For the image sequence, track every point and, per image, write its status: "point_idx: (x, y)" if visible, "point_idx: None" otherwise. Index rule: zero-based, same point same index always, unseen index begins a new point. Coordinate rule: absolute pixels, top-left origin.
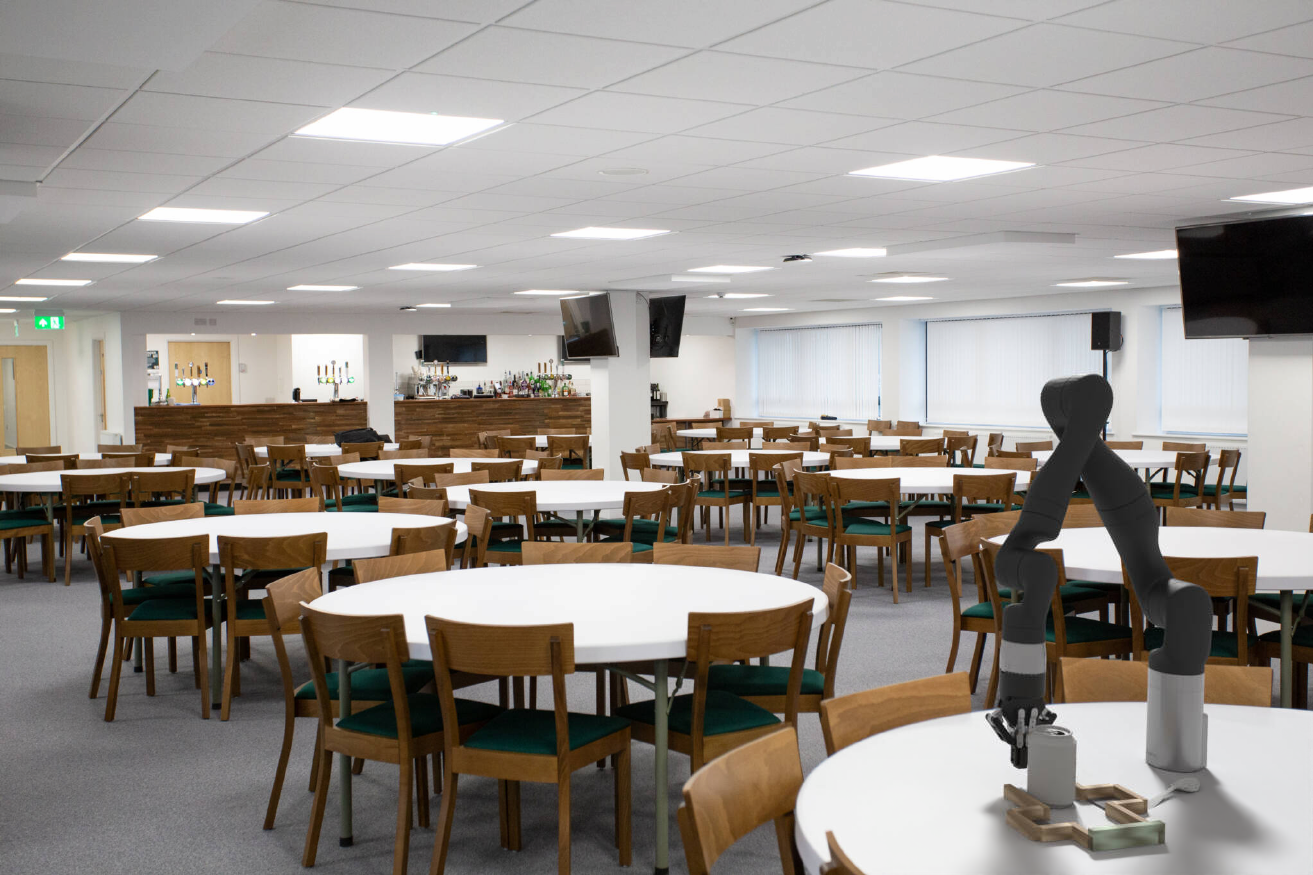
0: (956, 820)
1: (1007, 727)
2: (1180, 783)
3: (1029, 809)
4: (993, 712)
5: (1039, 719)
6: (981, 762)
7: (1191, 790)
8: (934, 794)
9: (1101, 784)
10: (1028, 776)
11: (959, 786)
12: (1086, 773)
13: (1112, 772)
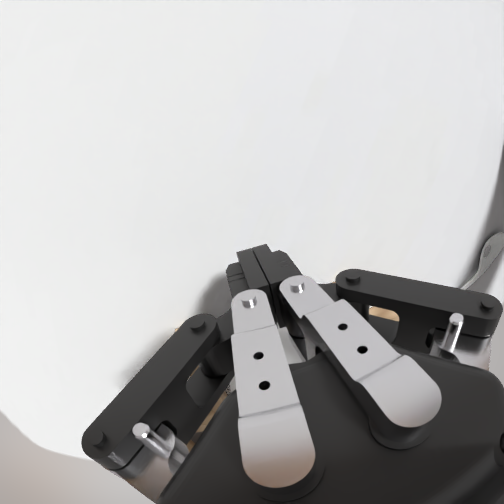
0: (88, 407)
1: (233, 343)
2: (493, 239)
3: (198, 431)
4: (128, 481)
5: (433, 322)
6: (192, 49)
7: (484, 271)
8: (37, 318)
9: (396, 316)
10: (231, 391)
11: (78, 271)
12: (430, 168)
13: (463, 169)
